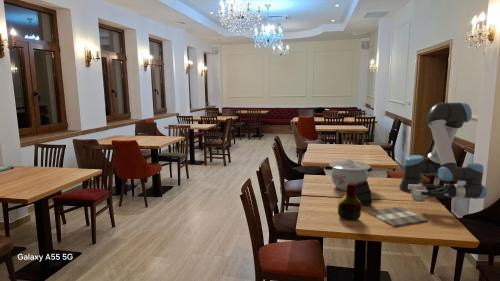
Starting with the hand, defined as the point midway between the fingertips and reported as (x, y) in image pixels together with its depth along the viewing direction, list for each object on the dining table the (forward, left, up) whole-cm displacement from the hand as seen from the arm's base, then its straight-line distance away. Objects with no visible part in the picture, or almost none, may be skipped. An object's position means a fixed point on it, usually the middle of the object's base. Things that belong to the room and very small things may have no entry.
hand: (411, 189), depth 185 cm
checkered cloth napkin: (+14, +6, -12) cm, 19 cm away
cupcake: (-4, +2, -6) cm, 8 cm away
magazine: (+21, -17, -13) cm, 30 cm away
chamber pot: (+9, -46, -13) cm, 49 cm away
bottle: (+40, 0, -13) cm, 42 cm away
